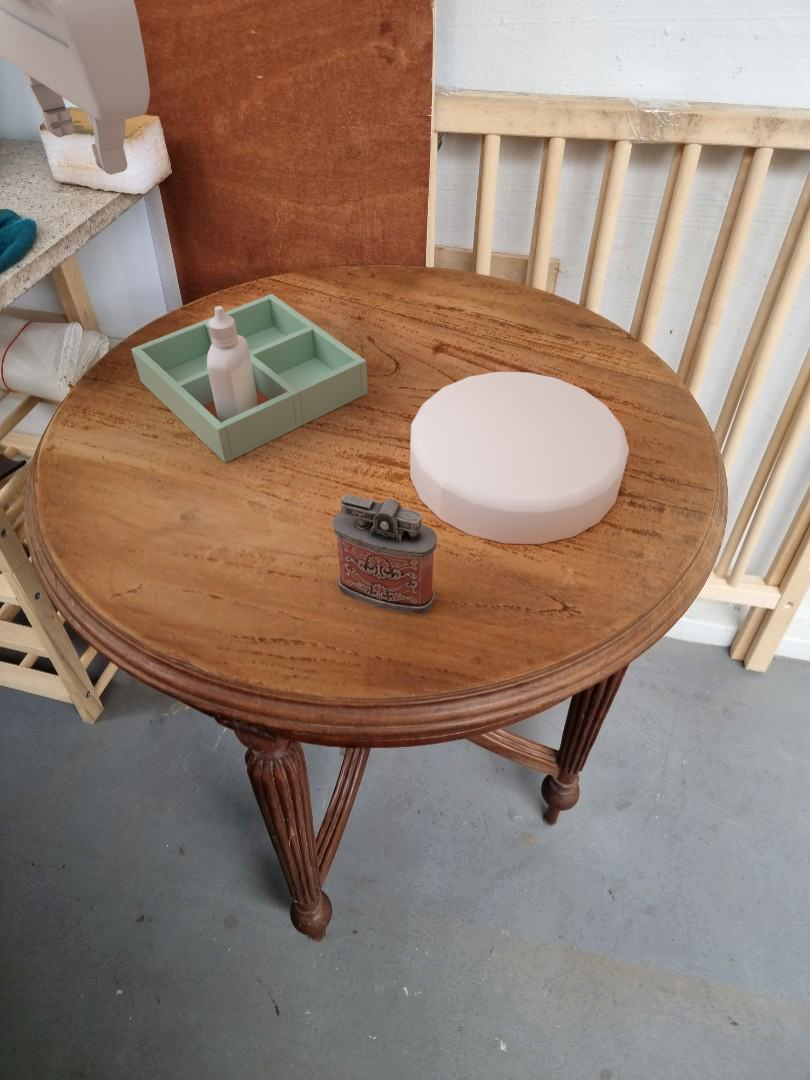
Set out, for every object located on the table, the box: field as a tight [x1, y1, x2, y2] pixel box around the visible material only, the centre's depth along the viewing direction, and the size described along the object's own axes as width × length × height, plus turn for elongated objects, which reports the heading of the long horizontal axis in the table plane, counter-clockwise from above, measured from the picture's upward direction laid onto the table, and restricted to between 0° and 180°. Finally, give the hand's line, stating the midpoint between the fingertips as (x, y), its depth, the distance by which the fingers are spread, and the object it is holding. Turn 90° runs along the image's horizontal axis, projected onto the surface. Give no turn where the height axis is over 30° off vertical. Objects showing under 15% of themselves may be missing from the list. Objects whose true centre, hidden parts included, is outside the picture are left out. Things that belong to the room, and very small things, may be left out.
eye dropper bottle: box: [207, 305, 258, 423], centre depth 74 cm, size 4×6×12 cm
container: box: [409, 371, 630, 545], centre depth 72 cm, size 20×20×5 cm
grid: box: [131, 293, 368, 464], centre depth 81 cm, size 17×17×4 cm
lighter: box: [332, 494, 438, 615], centre depth 60 cm, size 8×3×10 cm, turn 71°
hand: (86, 151), depth 60 cm, fingers open, 8 cm apart
